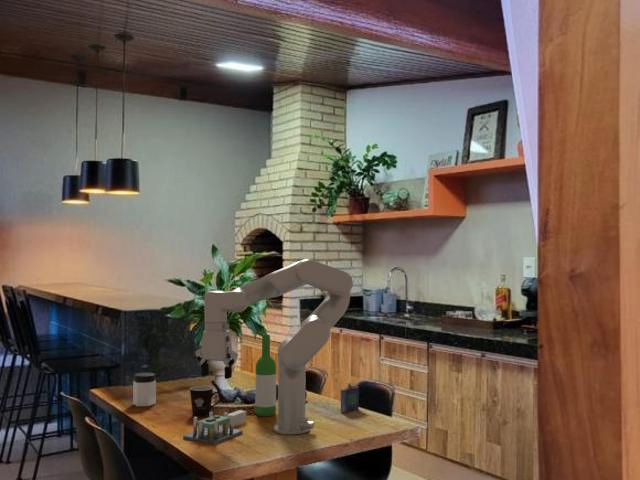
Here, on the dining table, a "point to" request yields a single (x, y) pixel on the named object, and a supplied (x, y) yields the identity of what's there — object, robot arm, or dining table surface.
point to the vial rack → (213, 432)
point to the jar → (144, 389)
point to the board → (210, 421)
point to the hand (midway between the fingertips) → (216, 377)
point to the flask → (349, 399)
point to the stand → (238, 418)
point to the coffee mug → (202, 400)
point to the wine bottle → (265, 381)
